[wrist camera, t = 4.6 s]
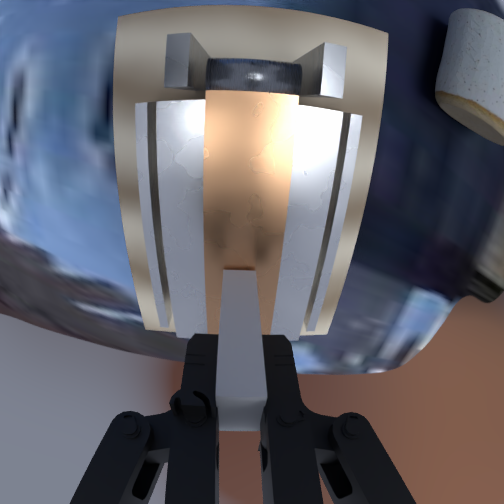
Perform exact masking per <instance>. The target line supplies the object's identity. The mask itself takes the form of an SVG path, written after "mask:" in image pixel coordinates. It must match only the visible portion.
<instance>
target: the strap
mask: <svg viewBox="0 0 504 504" xmlns="http://www.w3.org/2000/svg"><path fill="white" fill-rule="evenodd" d="M205 85H206V96H205V120H204V158H203V231H204V270H205V295H206V315H207V332H208V334H219V323H220V308H221V294H222V281H223V270H249V271H256V278H257V289H258V300H259V311H260V322H261V332H262V335H270V332H271V326H272V319H273V313H274V306H275V299H276V292H277V285H278V278H279V271H280V264H281V256H282V249H283V241H284V233H285V225H286V217H287V209H288V201H289V192H290V183H291V174H292V165H293V155H294V146H295V135H296V125H297V114H298V103H299V95H300V90H301V85H302V66H301V64H299V63H292V62H284V61H274V60H263V59H248V58H208V61H207V66H206V79H205Z"/></svg>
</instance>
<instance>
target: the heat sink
mask: <svg viewBox="0 0 504 504" xmlns="http://www.w3.org/2000/svg"><path fill="white" fill-rule="evenodd" d="M346 54H347V47H345V46H341V45H337V44H332V43H327V42H324V43H322V44H321V45H319V46H317V47H316V48H314V49H312V50H311V51H309V52H308V53H306V54H304V55H303V56H301V57H300V58H298V59H297V60H295V61H294V62H292V63H299V64H301V66H302V85H301V90H300V95H299V97H322V98H341V99H343V89H344V79H345V67H346ZM208 58H211V57H210V56H209V55H208V53H207V52H206V51H205V50H204V48H203V47H202V46H201V45H200V43H199V42H198V41H197V40H196V38H195V37H194V36H193V35H192V33H177V34H167V42H166V56H165V74H164V88H173V89H182V90H190V91H206V85H205V79H206V66H207V61H208ZM204 120H205V99H194V100H170V101H154V102H144V103H135V130H136V156H137V172H138V185H139V196H140V206H141V215H142V224H143V232H144V239H145V246H146V253H147V260H148V266H149V272H150V278H151V283H152V289H153V294H154V299H155V304H156V309H157V314H158V318H159V323H160V327H165V328H169V325H170V321H171V317H172V313H173V318H174V323H175V329H176V335H177V337H180V338H191V337H192V336H193V335H194V333H200V334H208V332H207V315H206V295H205V270H204V231H203V158H204ZM361 123H362V116H361V115H356V114H352V113H347V112H342V111H336V110H330V109H324V108H318V107H311V106H304V105H298V114H297V125H296V135H295V146H294V155H293V165H292V174H291V183H290V192H289V201H288V209H287V217H286V225H285V233H284V241H283V249H282V256H281V264H280V271H279V278H278V285H277V292H276V299H275V306H274V313H273V319H272V326H271V332H270V335H285V336H286V338H287V339H288V340H289V341H291V340H298V339H299V336H300V332H301V328H302V325H303V321H304V324H305V328H306V331H315V328H316V325H317V322H318V318H319V315H320V312H321V308H322V305H323V302H324V298H325V295H326V291H327V287H328V284H329V280H330V276H331V273H332V269H333V265H334V261H335V257H336V253H337V249H338V245H339V241H340V237H341V232H342V228H343V223H344V219H345V214H346V210H347V205H348V200H349V195H350V190H351V185H352V179H353V174H354V168H355V163H356V157H357V150H358V144H359V138H360V131H361Z"/></svg>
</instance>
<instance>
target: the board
mask: <svg viewBox="0 0 504 504" xmlns="http://www.w3.org/2000/svg"><path fill="white" fill-rule="evenodd" d="M177 33H192V35H193V36H194V37H195V38H196V40H197V41H198V42H199V43H200V45H201V46H202V47H203V48H204V50H205V51H206V52H207V53H208V55H209V56H210V57H211V58H248V59H263V60H274V61H284V62H294V61H295V60H297V59H298V58H300V57H301V56H303V55H304V54H306V53H308V52H309V51H311V50H312V49H314V48H316V47H317V46H319V45H321V44H322V43H324V42H327V43H332V44H337V45H341V46H345V47H347V54H346V67H345V79H344V89H343V99H341V98H322V97H299V103H298V105H304V106H311V107H318V108H324V109H330V110H336V111H342V112H347V113H352V114H356V115H361V116H362V123H361V131H360V138H359V144H358V150H357V157H356V163H355V168H354V174H353V179H352V185H351V190H350V195H349V200H348V205H347V210H346V214H345V219H344V223H343V228H342V232H341V237H340V241H339V245H338V249H337V253H336V257H335V261H334V265H333V269H332V273H331V276H330V280H329V284H328V287H327V291H326V295H325V298H324V302H323V305H322V308H321V312H320V315H319V318H318V322H317V325H316V328H315V331H306V328H305V324H304V321H303V325H302V328H301V332H300V335H323V334H327V333H328V330H329V327H330V324H331V321H332V319H333V316H334V313H335V310H336V307H337V304H338V301H339V298H340V294H341V291H342V288H343V285H344V282H345V278H346V275H347V272H348V268H349V265H350V261H351V258H352V254H353V251H354V247H355V243H356V240H357V236H358V232H359V228H360V224H361V220H362V216H363V211H364V207H365V203H366V198H367V194H368V189H369V184H370V179H371V174H372V169H373V164H374V159H375V153H376V147H377V141H378V135H379V128H380V121H381V114H382V106H383V98H384V88H385V78H386V66H387V50H388V33H385V32H383V31H380V30H377V29H374V28H370V27H367V26H364V25H360V24H357V23H353V22H350V21H346V20H342V19H338V18H334V17H329V16H324V15H320V14H314V13H309V12H303V11H297V10H290V9H282V8H273V7H261V6H245V5H202V6H186V7H174V8H165V9H158V10H151V11H145V12H139V13H133V14H128V15H123V16H119V17H118V22H117V31H116V42H115V55H114V74H113V128H114V148H115V162H116V174H117V184H118V193H119V201H120V209H121V216H122V223H123V229H124V235H125V241H126V247H127V252H128V257H129V262H130V267H131V272H132V277H133V281H134V286H135V290H136V295H137V299H138V303H139V307H140V311H141V315H142V318H143V322H144V326H145V329H146V330H157V331H169V332H176V329H175V323H174V318H173V313H172V317H171V321H170V325H169V328H165V327H160V323H159V318H158V314H157V309H156V304H155V299H154V294H153V289H152V283H151V278H150V272H149V266H148V260H147V253H146V246H145V239H144V232H143V224H142V215H141V206H140V196H139V185H138V172H137V156H136V130H135V103H144V102H154V101H170V100H194V99H205V96H206V91H190V90H182V89H173V88H164V74H165V56H166V42H167V34H177Z"/></svg>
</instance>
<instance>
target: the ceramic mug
mask: <svg viewBox="0 0 504 504" xmlns="http://www.w3.org/2000/svg"><path fill="white" fill-rule="evenodd" d="M435 98H436V100H437V102H438V104H439V106H440V107H441V108H442V109H443V110H444V111H445V112H446V113H447V114H448V115H450V116H451V117H453V118H454V119H455V120H457V121H458V122H460V123H461V124H463V125H464V126H466V127H467V128H469V129H471V130H472V131H474V132H476V133H477V134H479V135H481V136H483V137H484V138H486V139H488V140H490V141H492V142H494V143H497V144H499V145H502V146H504V20H503V19H501V18H499V17H497V16H495V15H493V14H490V13H488V12H485V11H481V10H477V9H467V8H466V9H459V10H456V11H454V12H453V13H452V14H451V15H450V18H449V24H448V30H447V35H446V39H445V45H444V50H443V55H442V59H441V63H440V67H439V70H438V74H437V78H436V86H435Z"/></svg>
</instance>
